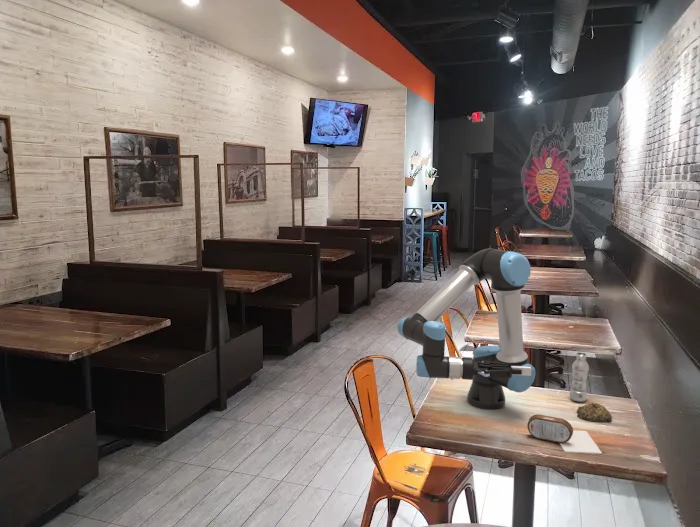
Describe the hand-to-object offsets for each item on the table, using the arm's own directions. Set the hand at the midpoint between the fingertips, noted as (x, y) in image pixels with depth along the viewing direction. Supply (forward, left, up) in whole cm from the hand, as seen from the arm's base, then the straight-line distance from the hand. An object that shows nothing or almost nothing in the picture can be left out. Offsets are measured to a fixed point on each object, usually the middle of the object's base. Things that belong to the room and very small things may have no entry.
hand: (530, 371), depth 191 cm
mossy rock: (+30, +23, -26) cm, 46 cm away
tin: (+8, 0, -25) cm, 26 cm away
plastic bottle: (+29, +37, -26) cm, 54 cm away
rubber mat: (+17, 0, -25) cm, 31 cm away
